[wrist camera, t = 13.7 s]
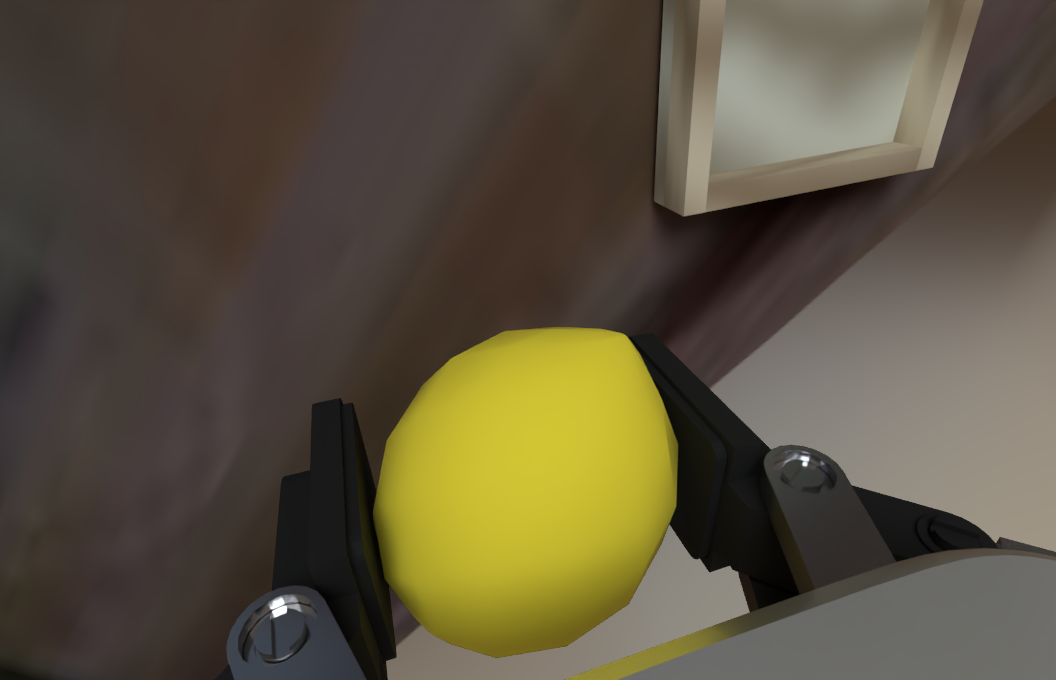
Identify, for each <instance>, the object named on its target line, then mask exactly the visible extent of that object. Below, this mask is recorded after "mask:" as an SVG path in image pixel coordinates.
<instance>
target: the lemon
mask: <svg viewBox="0 0 1056 680" xmlns="http://www.w3.org/2000/svg"><path fill="white" fill-rule="evenodd" d="M677 468H678V442H677V440H676V437H675V434H674V431H673V429H672V426H671V423H670V420H669V418H668V415H667V412H666V409H665V407H664V404H663V401H662V398H661V396H660V394H659V392H658V390H657V388H656V386H655V384H654V382H653V380H652V378H651V376H650V374H649V372H648V370H647V367H646V365H645V363H644V361H643V359H642V357H641V355H640V353H639V352H638V351H637V349H636V348H635V346H634V345H633V344H632V342H631V341H630V339H629V338H628V337H627V336H626V335H625V334H622V333H618V332H613V331H609V330H604V329H593V328H568V327H551V328H539V329H526V330H514V331H504V332H502V333H500V334H498V335H496V336H494V337H492V338H490V339H488V340H486V341H484V342H482V343H480V344H478V345H476V346H474V347H472V348H471V349H469V350H467V351H465V352H463V353H461V354H459V355H457V356H455V357H453V358H451V359H450V360H449V361H448V362H447V363H446V364H445V365H444V366H443V367H442V368H441V369H439V370H438V371H437V372H436V373H435V374H434V375H433V376H432V377H431V378H430V379H429V380H427V381H426V382H425V383H424V384H423V386H422V387H421V389H420V390H419V392H418V393H417V395H416V396H415V398H414V399H413V401H412V402H411V404H410V406H409V407H408V409H407V410H406V412H405V413H404V415H403V416H402V418H401V419H400V421H399V422H398V424H397V426H396V427H395V429H394V430H393V432H392V433H391V435H390V436H389V438H388V439H387V443H386V448H385V453H384V458H383V463H382V468H381V473H380V478H379V483H378V488H377V493H376V498H375V503H374V508H373V521H374V528H375V531H376V535H377V538H378V544H379V549H380V555H381V561H382V566H383V572H384V578H385V580H386V582H387V583H388V584H389V586H390V587H391V588H392V589H393V591H394V592H395V593H396V595H397V596H398V597H399V598H400V600H401V601H402V602H403V604H404V605H405V606H406V607H407V609H408V610H409V611H410V613H411V614H412V615H413V616H414V618H415V619H416V620H417V621H418V622H419V623H420V624H421V625H422V626H424V627H425V628H426V629H427V630H428V631H429V632H430V633H432V634H433V635H435V636H436V637H438V638H440V639H442V640H444V641H446V642H448V643H450V644H452V645H455V646H458V647H462V648H465V649H469V650H472V651H475V652H478V653H482V654H485V655H488V656H492V657H495V658H500V657H506V656H512V655H518V654H523V653H529V652H535V651H541V650H547V649H553V648H559V647H565V646H568V645H569V644H570V643H572V642H573V641H575V640H576V639H578V638H579V637H581V636H582V635H584V634H585V633H587V632H588V631H590V630H591V629H593V628H594V627H596V626H597V625H599V624H600V623H602V622H603V621H605V620H606V619H607V618H609V617H610V616H612V615H613V614H615V613H616V612H618V611H619V610H621V609H622V608H624V607H625V606H627V605H628V604H629V602H630V601H631V599H632V597H633V595H634V593H635V591H636V589H637V588H638V586H639V584H640V582H641V580H642V578H643V577H644V575H645V573H646V571H647V569H648V568H649V566H650V564H651V562H652V560H653V558H654V557H655V555H656V553H657V551H658V549H659V547H660V546H661V544H662V541H663V539H664V536H665V534H666V531H667V528H668V526H669V523H670V521H671V518H672V516H673V513H674V511H675V508H676V499H677Z"/></svg>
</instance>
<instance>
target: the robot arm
mask: <svg viewBox="0 0 1056 680" xmlns="http://www.w3.org/2000/svg"><path fill="white" fill-rule="evenodd" d="M628 338H629V339H630V341H631V342H632V344H633V345H634V346H635V348H636V349H637V351H638V352H639V353H640V355H641V357H642V359H643V361H644V363H645V365H646V367H647V370H648V372H649V374H650V376H651V378H652V380H653V382H654V384H655V386H656V388H657V390H658V392H659V394H660V396H661V398H662V401H663V404H664V407H665V409H666V412H667V415H668V418H669V420H670V423H671V426H672V429H673V431H674V434H675V437H676V440H677V442H678V468H677V499H676V508H675V511H674V513H673V516H672V518H671V521H670V523H669V524H670V525H671V527H672V529H673V530H674V531H675V533H676V535H677V536H678V538H679V539H680V541H681V542H682V544H683V545H684V547H685V548H686V550H687V551H688V552H689V554H690V555H691V556H692V557H693V558H694V559H699V558H700V559H701V561H702V562H703V564H704V565H705V567H706V568H707V569H708V571H709V572H712V571H715V570H718V569H721V568H724V567H727V566H731V568H732V569H733V570H735V571H738V573H739V578H740V581H741V585H742V588H743V591H744V595H745V598H746V601H747V605H748V608H749V611H750V613H747V614H745V615H742V616H739V617H736V618H733V619H731V620H728V621H725V622H722V623H719V624H717V625H714V626H711V627H708V628H706V629H703V630H700V631H698V632H695V633H692V634H689V635H686V636H684V637H681V638H678V639H675V640H672V641H670V642H667V643H664V644H661V645H659V646H656V647H653V648H651V649H647V650H645V651H642V652H639V653H636V654H634V655H631V656H628V657H626V658H623V659H620V660H617V661H614V662H612V663H609V664H607V665H603V666H601V667H598V668H596V669H592V670H590V671H587V672H584V673H582V674H579V675H576V676H573V677H570V678H568V679H565V680H1056V552H1054V551H1050V550H1046V549H1042V548H1039V547H1035V546H1031V545H1027V544H1024V543H1020V542H1017V541H1013V540H1009V539H1005V538H1002V537H1000V538H999V540H998V541H997V543H995V542H994V541H993V540H992V539H991V538H990V537H989V535H987V534H986V533H985V532H984V531H982V530H981V529H980V528H979V527H977V526H976V525H974V524H972V523H971V522H969V521H967V520H965V519H963V518H961V517H959V516H956V515H953V514H950V513H948V512H944V511H941V510H937V509H933V508H930V507H926V506H923V505H919V504H916V503H912V502H909V501H905V500H902V499H898V498H895V497H891V496H887V495H883V494H880V493H877V492H873V491H869V490H866V489H863V488H859V487H855V486H852V485H851V484H850V482H849V480H848V479H847V477H846V475H845V473H844V472H843V470H842V469H841V468H840V467H839V465H838V464H837V463H836V462H835V461H833V460H832V459H831V458H829V457H828V456H826V455H825V454H823V453H821V452H819V451H817V450H814V449H811V448H807V447H804V446H796V445H786V446H779V447H777V448H774V449H772V450H771V449H770V448H769V447H768V446H767V445H766V444H765V443H764V442H763V441H762V440H761V439H760V438H759V437H758V436H757V435H755V433H754V432H753V431H752V430H751V429H750V428H749V427H747V425H745V424H744V423H743V422H742V421H741V420H740V419H739V418H738V417H737V416H736V415H735V414H734V413H733V412H732V411H731V410H730V409H729V408H728V407H727V406H726V405H725V404H724V403H723V402H722V401H721V400H720V399H719V398H718V397H717V396H716V395H715V394H714V393H713V392H712V391H711V390H710V389H709V388H708V387H707V386H706V385H705V384H704V383H703V382H701V381H700V380H699V379H698V378H697V377H696V376H695V375H694V374H693V373H692V372H691V371H690V370H689V369H688V368H687V367H686V366H685V365H684V364H683V363H682V362H681V361H680V360H679V359H678V358H677V357H676V356H675V355H674V354H673V353H672V352H671V351H670V350H669V349H668V348H667V347H666V346H665V345H664V344H663V343H662V342H661V341H660V340H659V339H658V338H657V337H656V336H655V335H654V334H652V333H645V334H640V335H635V336H630V337H628ZM376 493H377V492H376V488H375V484H374V481H373V477H372V473H371V469H370V466H369V462H368V458H367V454H366V450H365V447H364V443H363V439H362V435H361V432H360V428H359V424H358V420H357V416H356V413H355V409H354V405H353V403H348V404H344V405H343V403H342V400H341V398H338V399H334V400H329V401H324V402H319V403H315V404H313V405H312V426H311V463H310V471H305V472H301V473H297V474H293V475H289V476H284V477H283V479H282V483H281V491H280V502H279V514H278V525H277V537H276V548H275V560H274V571H273V582H272V592H269V593H267V594H265V595H263V596H262V597H260V598H259V599H258V600H256V601H255V602H253V603H252V604H251V605H250V606H249V607H248V608H247V609H246V610H245V611H244V612H243V613H242V614H241V615H240V616H239V618H238V619H237V621H236V623H235V624H234V626H233V628H232V630H231V631H230V635H229V638H228V642H227V646H226V647H227V657H228V662H229V665H228V666H227V667H226V668H225V669H224V671H223V672H222V673H221V674H220V675H219V676H218V677H217V678H216V679H215V680H388V678H387V668H386V661H387V660H390V659H394V658H396V645H395V636H394V628H393V619H392V610H391V601H390V593H389V584H388V583H387V582H386V580H385V578H384V572H383V566H382V561H381V555H380V549H379V544H378V538H377V535H376V531H375V528H374V521H373V508H374V503H375V498H376Z"/></svg>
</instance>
